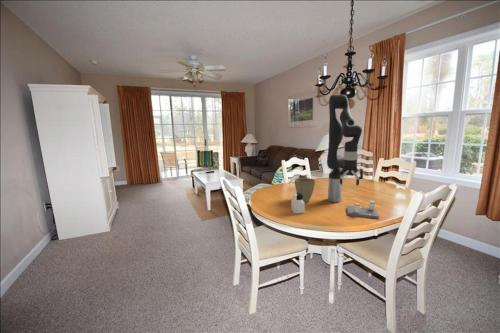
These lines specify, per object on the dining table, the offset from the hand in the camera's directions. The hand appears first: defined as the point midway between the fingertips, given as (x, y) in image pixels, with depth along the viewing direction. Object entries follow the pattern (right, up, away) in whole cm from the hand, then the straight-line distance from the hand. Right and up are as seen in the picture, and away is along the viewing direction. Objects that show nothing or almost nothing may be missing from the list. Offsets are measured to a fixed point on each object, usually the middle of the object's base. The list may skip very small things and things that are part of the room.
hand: (349, 184), depth 132 cm
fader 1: (+5, -17, +1) cm, 17 cm away
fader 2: (+16, -16, +4) cm, 23 cm away
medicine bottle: (-30, -18, +8) cm, 36 cm away
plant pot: (-20, -14, +29) cm, 38 cm away
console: (+9, -18, +3) cm, 20 cm away
